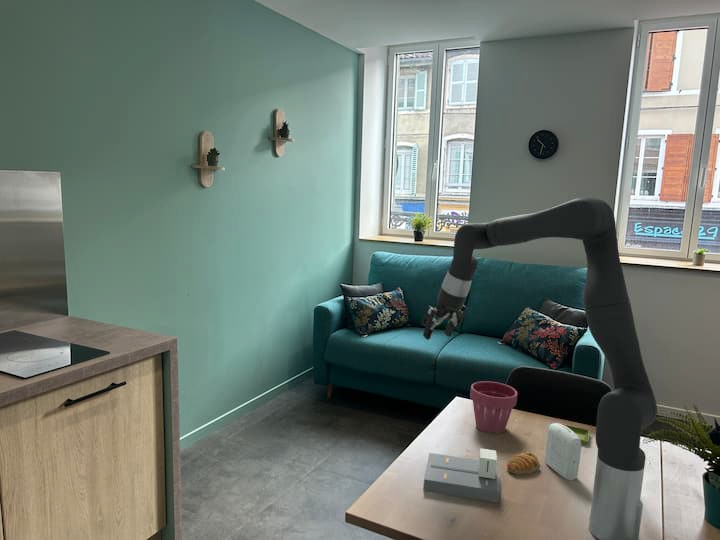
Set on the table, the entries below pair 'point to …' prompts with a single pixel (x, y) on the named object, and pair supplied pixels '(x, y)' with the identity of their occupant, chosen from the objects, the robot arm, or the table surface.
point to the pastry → (523, 464)
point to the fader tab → (487, 463)
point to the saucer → (580, 433)
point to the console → (459, 478)
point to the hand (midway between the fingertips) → (436, 336)
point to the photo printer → (563, 451)
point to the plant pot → (492, 405)
